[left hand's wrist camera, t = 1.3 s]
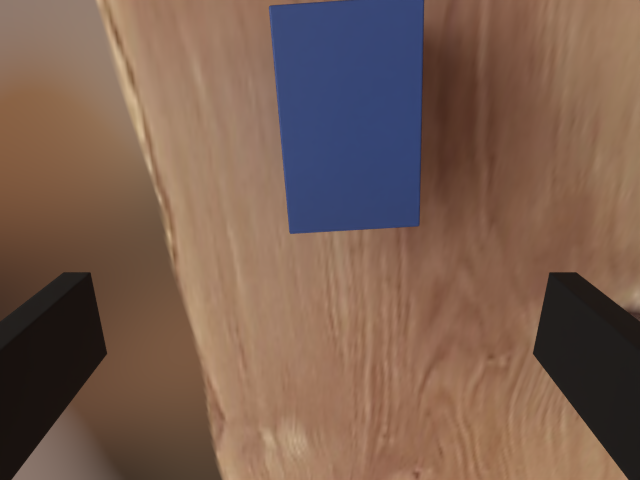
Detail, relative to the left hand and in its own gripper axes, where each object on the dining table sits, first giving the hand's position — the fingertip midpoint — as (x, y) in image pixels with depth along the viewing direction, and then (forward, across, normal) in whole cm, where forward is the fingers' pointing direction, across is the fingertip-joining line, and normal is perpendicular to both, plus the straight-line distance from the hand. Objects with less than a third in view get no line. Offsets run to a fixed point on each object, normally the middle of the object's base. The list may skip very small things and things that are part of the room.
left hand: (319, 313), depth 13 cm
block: (+15, +1, +5) cm, 15 cm away
